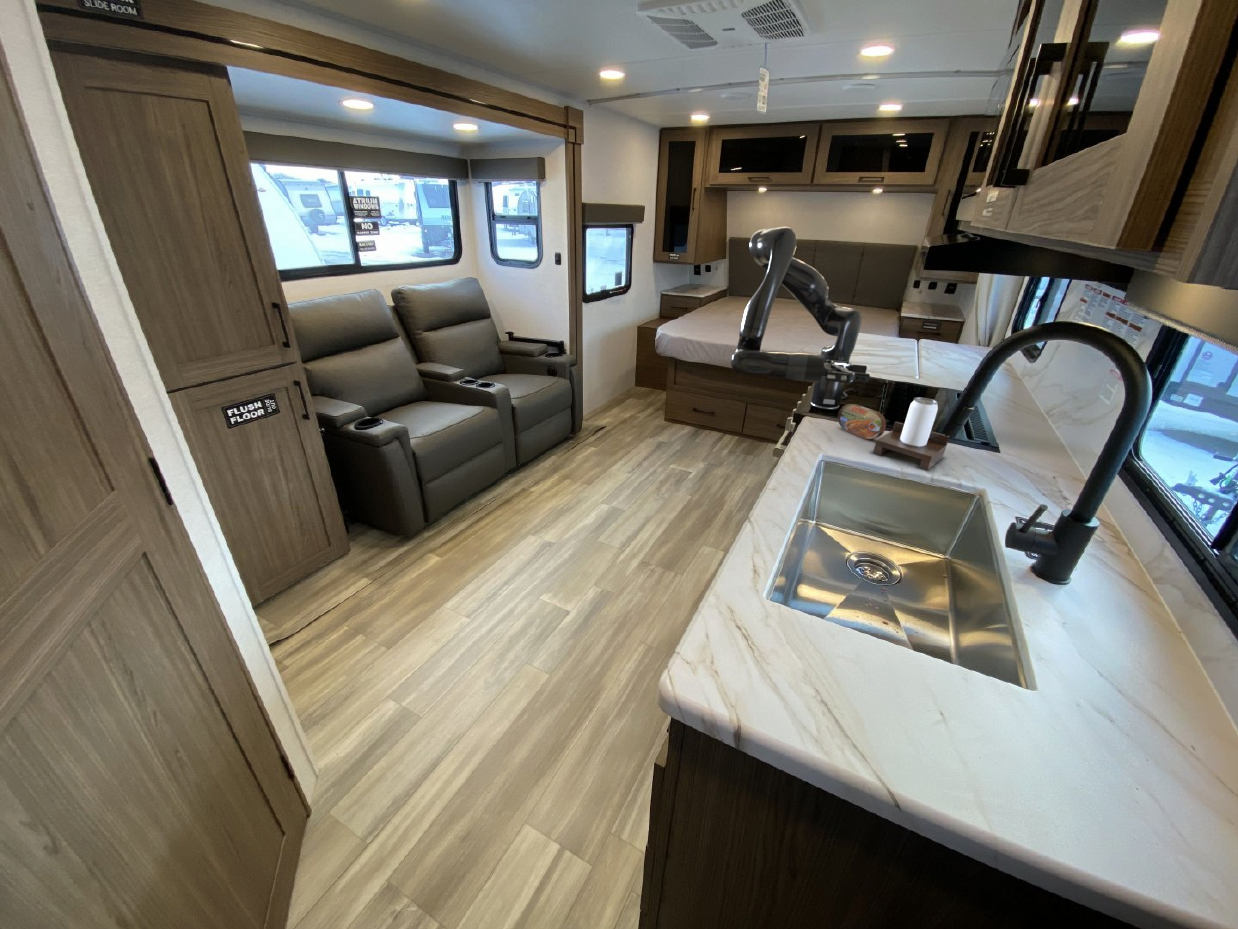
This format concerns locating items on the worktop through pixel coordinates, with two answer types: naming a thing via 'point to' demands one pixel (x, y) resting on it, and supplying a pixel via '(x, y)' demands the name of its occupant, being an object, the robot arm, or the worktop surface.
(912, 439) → the can
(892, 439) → the bench
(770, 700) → the worktop surface
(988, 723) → the worktop surface
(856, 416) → the tin
